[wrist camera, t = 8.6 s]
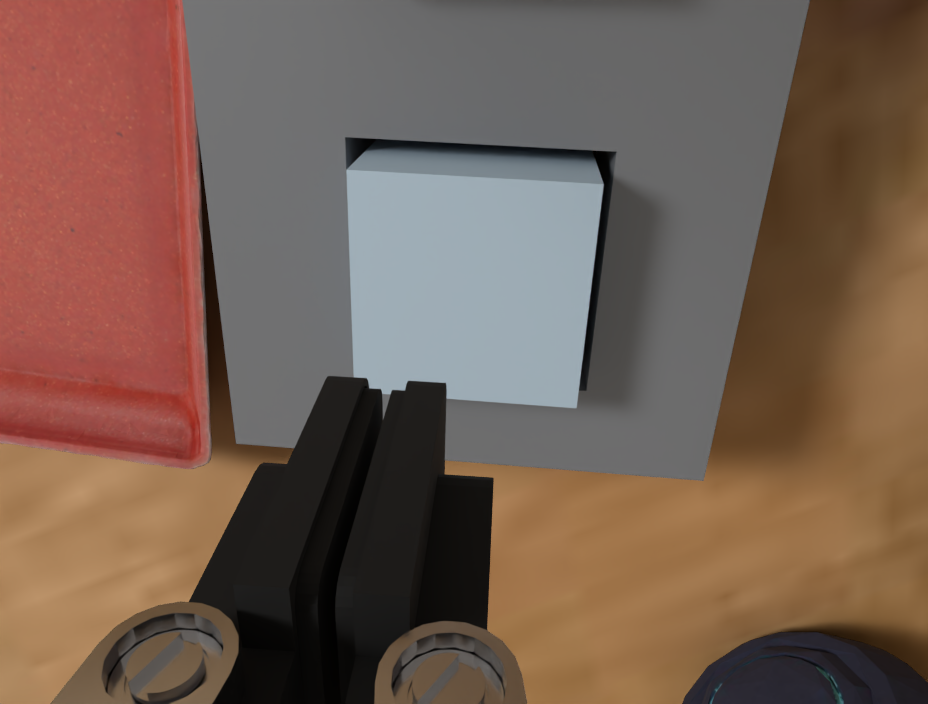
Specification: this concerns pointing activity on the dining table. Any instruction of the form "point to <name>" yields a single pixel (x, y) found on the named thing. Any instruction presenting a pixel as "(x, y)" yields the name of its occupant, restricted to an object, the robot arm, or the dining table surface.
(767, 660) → the portable speaker
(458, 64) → the console
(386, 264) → the blue key
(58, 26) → the plant saucer
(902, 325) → the dining table surface
